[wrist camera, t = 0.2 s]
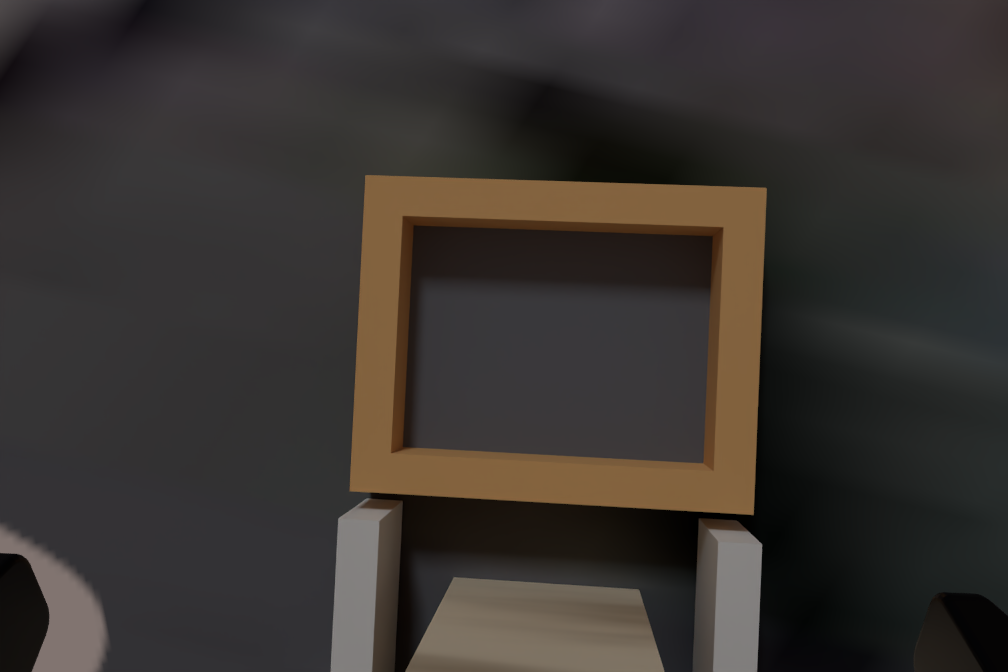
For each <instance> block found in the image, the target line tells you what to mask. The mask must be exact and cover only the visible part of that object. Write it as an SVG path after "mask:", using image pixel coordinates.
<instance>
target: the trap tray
mask: <svg viewBox="0 0 1008 672" xmlns="http://www.w3.org/2000/svg"><path fill="white" fill-rule="evenodd" d="M766 192H767V188H753V187H721V186H690V185H658V184H627V183H595V182H564V181H532V180H501V179H469V178H438V177H406V176H375V175H366V177H365V197H364V216H363V236H362V256H361V276H360V296H359V316H358V336H357V356H356V376H355V395H354V415H353V435H352V455H351V475H350V491H356V492H373V493H390V494H407V495H424V496H441V497H458V498H475V499H492V500H509V501H526V502H543V503H560V504H578V505H595V506H612V507H629V508H646V509H663V510H680V511H697V512H714V513H731V514H748V515H754V492H755V467H756V442H757V417H758V392H759V367H760V342H761V317H762V292H763V267H764V242H765V217H766Z"/></svg>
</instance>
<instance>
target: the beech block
mask: <svg viewBox="0 0 1008 672" xmlns="http://www.w3.org/2000/svg"><path fill="white" fill-rule="evenodd" d="M405 672H664V669H663V665H662V662H661V659H660V656H659V652H658V649H657V646H656V643H655V640H654V636H653V633H652V630H651V627H650V623H649V620H648V617H647V614H646V611H645V607H644V604H643V601H642V598H641V594H640V591H639V589H624V588H609V587H594V586H578V585H563V584H548V583H533V582H517V581H502V580H487V579H472V578H456V577H454V578H453V580H452V582H451V584H450V586H449V588H448V590H447V592H446V594H445V596H444V598H443V599H442V601H441V603H440V605H439V607H438V609H437V611H436V613H435V615H434V617H433V619H432V621H431V623H430V625H429V627H428V628H427V630H426V632H425V634H424V636H423V638H422V640H421V642H420V644H419V646H418V648H417V650H416V652H415V654H414V656H413V657H412V659H411V661H410V663H409V665H408V667H407V669H406V671H405Z"/></svg>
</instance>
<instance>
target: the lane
mask: <svg viewBox="0 0 1008 672" xmlns="http://www.w3.org/2000/svg"><path fill="white" fill-rule="evenodd" d="M402 509H403V501H400V500H383V499H366V500H364V501H363V502H361V503H360V504H358V505H357V506H356V507H354V508H353V509H351V510H350V511H348V512H347V513H346V514H344V515H343V516H341V517H340V518H338V537H337V556H336V576H335V596H334V616H333V636H332V655H331V672H395V652H396V632H397V612H398V591H399V571H400V550H401V530H402ZM761 559H762V544H761V543H760V542H759V541H758V540H757V539H756V538H755V537H754V536H753V535H752V534H751V533H750V532H749V531H747V530H746V529H745V528H744V527H743V526H742V525H741V524H740V523H739V522H738V521H737V520H721V519H704V518H699V527H698V551H697V575H696V599H695V624H694V648H693V672H757V660H758V635H759V609H760V584H761Z"/></svg>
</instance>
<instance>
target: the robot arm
mask: <svg viewBox="0 0 1008 672" xmlns="http://www.w3.org/2000/svg"><path fill="white" fill-rule="evenodd" d="M48 625H49V609H48V606H47V603H46V601H45V598H44V596H43V594H42V591H41V589H40V586H39V584H38V582H37V579H36V577H35V575H34V572H33V570H32V568H31V565H30V563H29V562H28V560H27V559H26V558H24V557H23V556H22V555H18V554H5V553H0V672H32V669H33V666H34V664H35V662H36V659H37V657H38V654H39V651H40V649H41V646H42V644H43V641H44V639H45V636H46V633H47V629H48ZM914 670H915V672H1008V616H1007V615H1006V614H1005V613H1004V612H1003V611H1002V610H1001V609H999V608H998V607H997V606H996V605H995V604H994V603H993V602H991V601H990V600H989V599H987V598H985V597H984V596H982V595H979V594H971V593H947V592H943V593H938V594H937V595H935V596H934V597H933V599H932V601H931V603H930V605H929V608H928V611H927V614H926V617H925V620H924V623H923V626H922V629H921V632H920V635H919V637H918V640H917V643H916V647H915V651H914Z"/></svg>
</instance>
